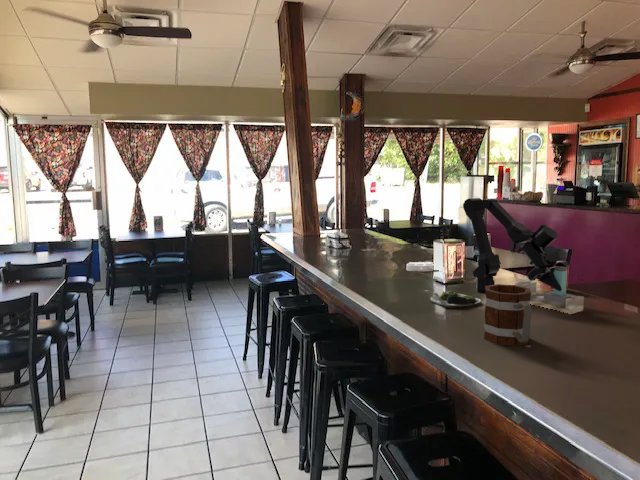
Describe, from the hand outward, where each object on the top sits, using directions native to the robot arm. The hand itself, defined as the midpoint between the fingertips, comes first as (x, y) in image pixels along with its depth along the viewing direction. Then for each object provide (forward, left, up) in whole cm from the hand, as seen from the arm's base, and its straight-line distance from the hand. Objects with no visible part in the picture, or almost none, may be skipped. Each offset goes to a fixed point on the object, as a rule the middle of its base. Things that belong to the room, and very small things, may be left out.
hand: (563, 289), depth 178 cm
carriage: (-1, +1, -4) cm, 4 cm away
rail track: (-4, +4, -7) cm, 9 cm away
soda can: (+6, +30, -7) cm, 32 cm away
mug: (-24, -39, -7) cm, 46 cm away
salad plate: (-37, +3, -8) cm, 38 cm away
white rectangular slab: (-49, +69, -8) cm, 85 cm away
